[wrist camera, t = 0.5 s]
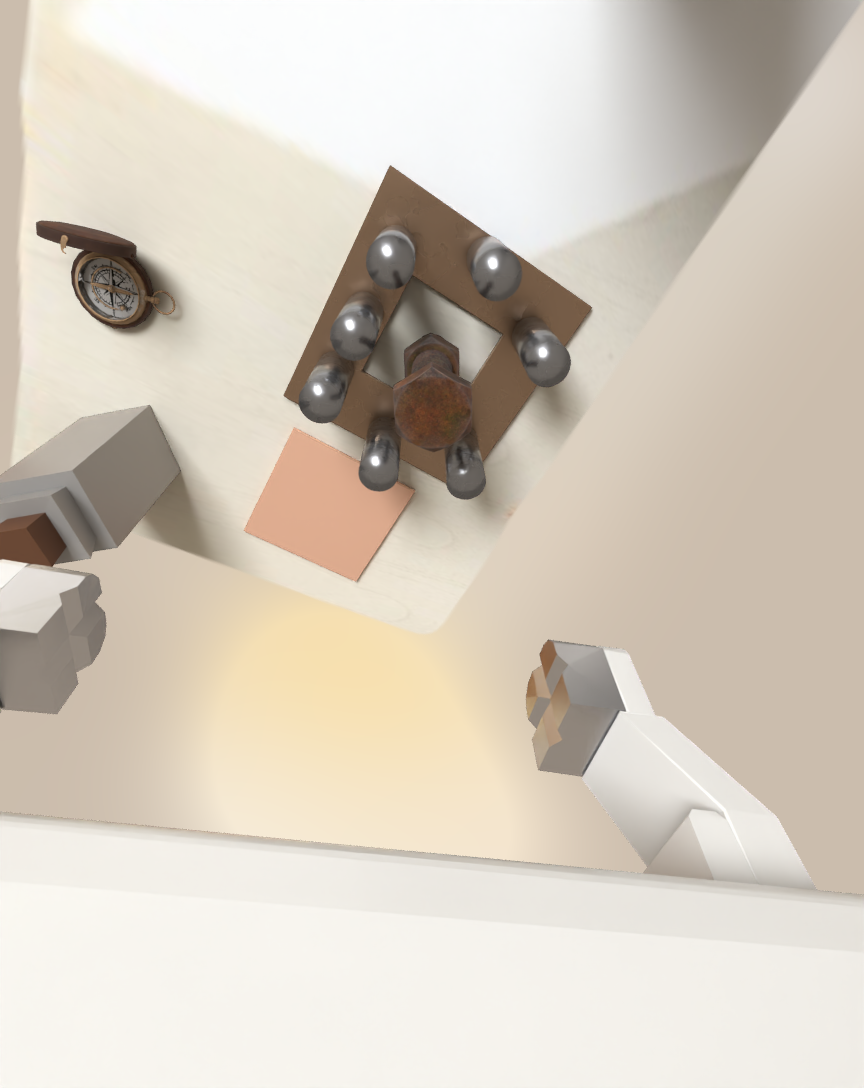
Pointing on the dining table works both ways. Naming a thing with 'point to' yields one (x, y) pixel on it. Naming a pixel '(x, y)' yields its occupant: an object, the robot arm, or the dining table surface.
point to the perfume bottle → (84, 488)
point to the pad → (324, 507)
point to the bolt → (432, 396)
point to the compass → (105, 274)
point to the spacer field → (468, 280)
